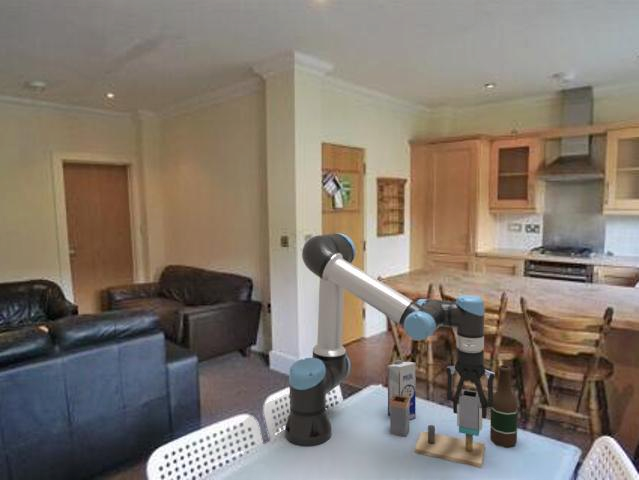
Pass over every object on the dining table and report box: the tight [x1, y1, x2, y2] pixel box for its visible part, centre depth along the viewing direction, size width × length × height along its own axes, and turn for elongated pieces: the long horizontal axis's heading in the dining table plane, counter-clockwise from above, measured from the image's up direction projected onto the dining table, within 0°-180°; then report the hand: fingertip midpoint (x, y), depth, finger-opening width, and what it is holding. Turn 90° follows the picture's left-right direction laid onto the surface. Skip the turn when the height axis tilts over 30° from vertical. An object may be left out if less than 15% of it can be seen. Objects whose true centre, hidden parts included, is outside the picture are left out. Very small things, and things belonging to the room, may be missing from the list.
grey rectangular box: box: [458, 388, 481, 437], centre depth 128 cm, size 5×5×11 cm
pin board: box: [413, 424, 486, 469], centre depth 131 cm, size 19×11×6 cm, turn 65°
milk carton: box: [387, 359, 417, 421], centre depth 151 cm, size 7×7×20 cm
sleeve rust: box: [389, 395, 410, 438], centre depth 142 cm, size 5×5×11 cm
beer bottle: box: [489, 364, 519, 449], centre depth 134 cm, size 8×8×24 cm
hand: (469, 425), depth 128 cm, fingers closed on grey rectangular box, 5 cm apart
